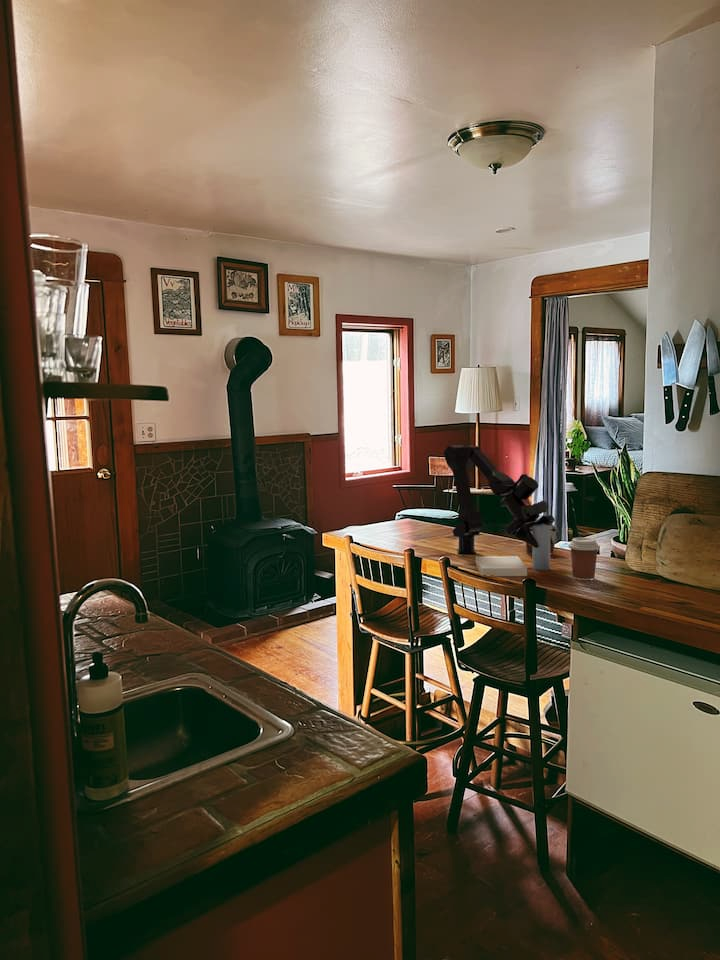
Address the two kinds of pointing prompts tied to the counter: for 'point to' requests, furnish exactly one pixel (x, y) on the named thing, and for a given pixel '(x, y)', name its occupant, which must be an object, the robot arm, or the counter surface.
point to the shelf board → (501, 566)
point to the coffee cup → (583, 558)
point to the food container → (553, 534)
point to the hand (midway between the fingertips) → (544, 545)
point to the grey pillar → (541, 547)
